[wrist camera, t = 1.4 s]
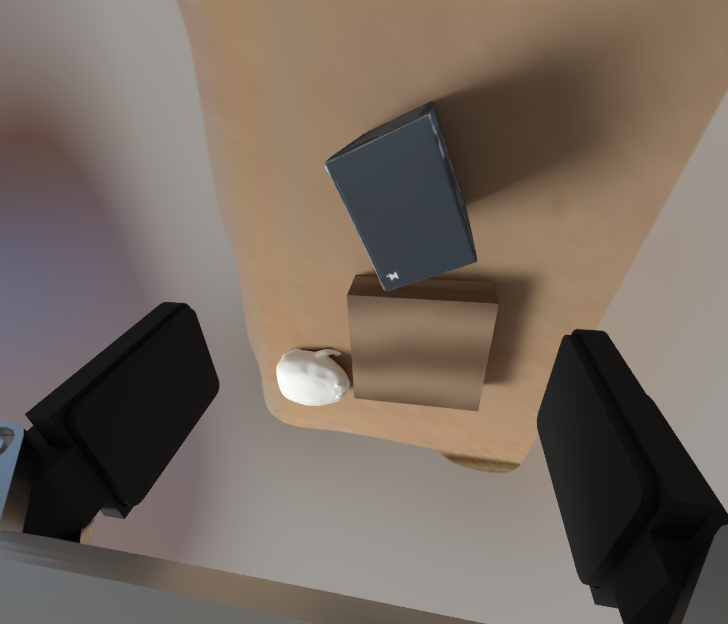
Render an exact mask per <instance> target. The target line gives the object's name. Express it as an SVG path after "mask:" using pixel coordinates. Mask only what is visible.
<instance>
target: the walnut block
mask: <svg viewBox="0 0 728 624" xmlns="http://www.w3.org/2000/svg"><path fill="white" fill-rule="evenodd" d="M347 301H348V315H349V329H350V343H351V357H352V370H353V384H354V398H357V399H367V400H376V401H386V402H395V403H405V404H415V405H424V406H434V407H443V408H453V409H462V410H472V411H478V409H479V404H480V399H481V393H482V388H483V383H484V378H485V373H486V368H487V363H488V357H489V352H490V347H491V342H492V337H493V332H494V327H495V321H496V316H497V311H498V306H499V302H498V298H497V294H496V290H495V287H494V283H493V282H485V281H464V280H444V279H423V280H420V281H417V282H414V283H410V284H407V285H404V286H401V287H398V288H395V289H393V290H390V291H385V290H384V289H383V287H382V285H381V283H380V280H379V278H378V276H361V275H355V278H354V280H353V282H352V285H351V287H350V289H349V292H348V294H347Z"/></svg>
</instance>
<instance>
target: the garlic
mask: <svg viewBox="0 0 728 624" xmlns="http://www.w3.org/2000/svg"><path fill="white" fill-rule="evenodd" d="M331 354H334V355H335V356H337V355H340V354H341V353H340V352H338V351H335V350H333V349H323V350H320V351H316V352H312V351H303V350H300V349H293V350H290V351H289V352H287V353H285V354H283V356H282V359H281V360H280V361H279V363H278V365H277V380H278V384H279V387H280V390H281V392H282V394H283V395H284V396H285V397H286V398H287V399H289V400H291V401H294V402H297V403H300V404H304V405H317V406H321V405H327V404H331V403H334V402H338V401H340V400H341V399H342V398H343V397H344V395H345V394H346V393H347V392H348V390H349V387H350V382H349V379H348V376H347V374H346V373H345V371H344V370H343V369H342V368H341V367H340V366H339V365H338V364H337V363H336V362H335V361H334V360H333V359H331V358H330V357H329V355H331Z"/></svg>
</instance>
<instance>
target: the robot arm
mask: <svg viewBox="0 0 728 624" xmlns="http://www.w3.org/2000/svg"><path fill="white" fill-rule="evenodd" d="M218 391H219V380H218V377H217V374H216V371H215V368H214V365H213V362H212V359H211V356H210V353H209V350H208V348H207V344H206V341H205V339H204V336H203V333H202V330H201V327H200V324H199V321H198V318H197V315H196V313H195V311H194V310H193V309H191V308H190V306H188V304H185V303H175V302H163V303H161V304H160V305H159V306H157V307H156V308H155V309H154V310H152V311H151V312H150V313H149V314H147V315H146V316H145V317H144V318H143V319H142V320H140V321H139V322H138V323H136V324H135V325H134V326H133V327H131V328H130V329H129V330H128V331H127V332H125V333H124V334H123V335H122V336H120V337H119V338H118V339H117V340H115V341H114V342H113V343H112V344H111V345H109V346H108V347H107V348H106V349H104V350H103V351H102V352H101V353H99V354H98V355H97V356H96V357H95V358H93V359H92V360H91V361H90V362H88V363H87V364H86V365H85V366H84V367H82V368H81V369H80V370H79V371H77V372H76V373H75V374H74V375H72V376H71V377H70V378H69V379H67V380H66V381H65V382H64V383H63V384H61V385H60V386H59V387H58V388H56V389H55V390H54V391H53V392H52V393H50V394H49V395H48V396H47V397H45V398H44V399H43V400H42V401H41V402H39V403H38V404H37V405H36V406H34V407H33V408H32V409H31V410H30V411H28V412H27V413H26V414H25V415H26V416H27V418H28V419H29V420H30V421H31V423H32V424H33V425H34V426H32V427H31V428H30V429H29V430H28V431H26V430H25V429H24V428H23V427H22V426H21V425H20V424H19V423H16V422H12V421H9V422H0V624H484V623H479V622H474V621H469V620H464V619H459V618H454V617H449V616H445V615H440V614H435V613H430V612H425V611H420V610H415V609H410V608H405V607H400V606H395V605H390V604H385V603H380V602H376V601H371V600H365V599H361V598H355V597H351V596H346V595H341V594H336V593H331V592H326V591H321V590H316V589H311V588H306V587H301V586H296V585H291V584H286V583H281V582H276V581H271V580H266V579H261V578H256V577H251V576H246V575H240V574H236V573H231V572H225V571H220V570H215V569H210V568H205V567H200V566H195V565H190V564H185V563H180V562H174V561H170V560H164V559H159V558H154V557H148V556H144V555H138V554H133V553H128V552H122V551H117V550H112V549H107V548H102V547H96V546H93V529H94V517H95V516H96V514H97V513H98V512H99V510H101V512H102V513H103V514H104V515H105V516H110V517H116V518H121V519H125V518H126V516H127V515H128V514H129V512H130V511H131V509H132V508H133V507H134V506H135V505H138V504H139V503H140V502H141V501H142V500H143V499H144V498H145V496H146V495H147V493H148V492H149V490H150V489H151V488H152V486H153V485H154V483H155V482H156V480H157V479H158V478H159V476H160V475H161V473H162V472H163V471H164V469H165V468H166V466H167V465H168V463H169V462H170V461H171V459H172V458H173V456H174V455H175V453H176V452H177V451H178V449H179V448H180V446H181V445H182V443H183V442H184V441H185V439H186V438H187V436H188V435H189V433H190V432H191V431H192V429H193V428H194V426H195V425H196V424H197V422H198V421H199V419H200V418H201V416H202V415H203V413H204V412H205V411H206V409H207V408H208V406H209V405H210V404H211V402H212V401H213V399H214V398H215V396H216V395H217V393H218ZM537 428H538V433H539V436H540V440H541V444H542V447H543V451H544V454H545V458H546V462H547V465H548V469H549V472H550V476H551V479H552V483H553V487H554V491H555V494H556V498H557V501H558V505H559V509H560V512H561V516H562V520H563V523H564V527H565V530H566V534H567V537H568V541H569V544H570V548H571V552H572V555H573V559H574V563H575V567H576V570H577V573H578V576H579V578H580V580H581V582H582V583H583V584H586V585H589V586H590V589H591V593H592V596H593V599H594V603H595V604H596V605H601V606H607V607H613V608H618V609H619V612H620V615H621V618H622V621H623V623H624V624H728V513H727V512H726V511H725V509H724V507H723V506H722V504H721V503H720V501H719V500H718V498H717V497H716V495H715V494H714V492H713V491H712V489H711V488H710V486H709V485H708V483H707V482H706V480H705V478H704V477H703V475H702V474H701V472H700V471H699V469H698V468H697V466H696V465H695V463H694V462H693V460H692V459H691V457H690V456H689V454H688V453H687V451H686V450H685V449H684V447H683V445H682V444H681V442H680V441H679V439H678V437H677V436H676V434H675V433H674V431H673V430H672V428H671V427H670V425H669V424H668V422H667V421H666V419H665V418H664V416H663V415H662V413H661V412H660V410H659V409H658V407H657V406H656V404H655V402H654V401H653V400H652V399H651V398H650V397H649V396H648V395H647V394H646V393H645V391H644V390H643V388H642V387H641V385H640V384H639V382H638V380H637V379H636V377H635V376H634V374H633V373H632V371H631V370H630V368H629V367H628V365H627V364H626V362H625V361H624V359H623V358H622V356H621V354H620V353H619V351H618V350H617V348H616V347H615V345H614V344H613V342H612V341H611V339H610V338H609V336H608V334H607V333H606V332H604V331H598V330H583V329H576V330H574V331H573V332H572V334H571V335H565V336H564V337H563V339H562V341H561V344H560V347H559V350H558V353H557V357H556V360H555V363H554V366H553V369H552V372H551V375H550V378H549V381H548V384H547V387H546V391H545V394H544V397H543V400H542V403H541V406H540V409H539V412H538V416H537Z"/></svg>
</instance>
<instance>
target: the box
mask: <svg viewBox="0 0 728 624" xmlns="http://www.w3.org/2000/svg"><path fill="white" fill-rule="evenodd" d="M325 169H326V171H327V172H328V174H329V176H330V178H331V179H332V181H333V183H334V185H335V187H336V189H337V191H338V193H339V195H340V197H341V199H342V201H343V203H344V205H345V207H346V210H347V212H348V214H349V216H350V217H351V219H352V221H353V224H354V226H355V228H356V230H357V232H358V234H359V236H360V238H361V241H362V243H363V245H364V247H365V249H366V251H367V253H368V255H369V258H370V260H371V262H372V264H373V267H374V269H375V271H376V273H377V276H378V278H379V280H380V283H381V285H382V287H383V289H384V290H385V291H390V290H393V289H395V288H398V287H401V286H404V285H407V284H410V283H414V282H417V281H420V280H423V279H426V278H430V277H433V276H436V275H439V274H442V273H445V272H449V271H452V270H455V269H458V268H461V267H463V266H466V265H469V264H472V263H475V262H477V256H476V250H475V246H474V241H473V236H472V232H471V227H470V223H469V219H468V214H467V209H466V205H465V202H464V199H463V196H462V193H461V190H460V186H459V183H458V180H457V177H456V174H455V171H454V167H453V165H452V162H451V158H450V155H449V152H448V149H447V145H446V143H445V139H444V136H443V133H442V130H441V125H440V123H439V120H438V116H437V112H436V109H435V106H434V103H433V102H429V103H427V104H425V105H423V106H421V107H419V108H416V109H415V110H412V111H410V112H408V113H406V114H404V115H402V116H400V117H398V118H396V119H394V120H392V121H390V122H388V123H386V124H384V125H381V126H379V127H377V128H375V129H373V130H371V131H369V132H367V133H365V134H363V135H361V136H360V137H359V138H357V139H356V140H354V141H353V142H351V143H350V144H348V145H347V146H346V147H345V148H343V149H342V150H341V151H339V152H337V153H336V154H335V155H333V156H332V157H331V158H329V159H328V160H327V161H326V162H325Z"/></svg>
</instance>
